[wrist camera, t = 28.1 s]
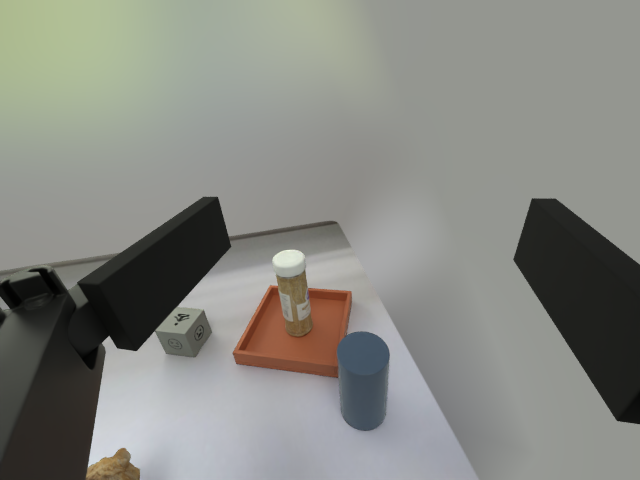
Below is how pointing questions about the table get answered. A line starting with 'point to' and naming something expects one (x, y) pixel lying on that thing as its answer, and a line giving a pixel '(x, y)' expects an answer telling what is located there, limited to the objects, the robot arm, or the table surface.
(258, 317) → the tray
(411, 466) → the table surface
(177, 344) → the dice cube
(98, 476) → the lion figurine
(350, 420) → the blue can
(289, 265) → the spice jar
